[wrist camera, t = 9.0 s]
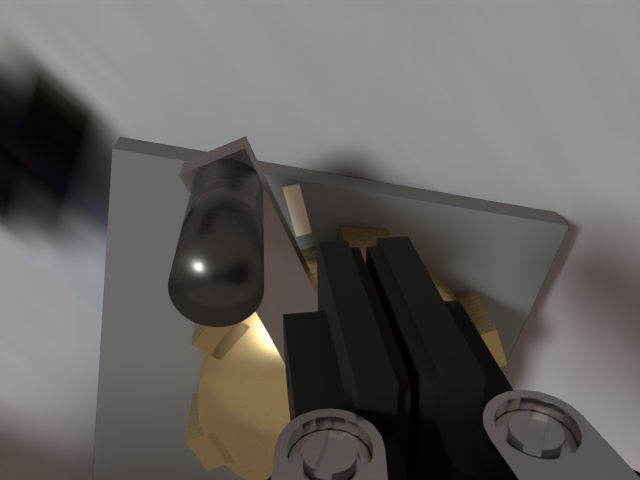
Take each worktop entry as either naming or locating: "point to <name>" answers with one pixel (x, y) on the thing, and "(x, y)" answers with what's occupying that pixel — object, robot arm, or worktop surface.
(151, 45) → the worktop surface
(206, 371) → the gold domed lever dial
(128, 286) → the base plate
